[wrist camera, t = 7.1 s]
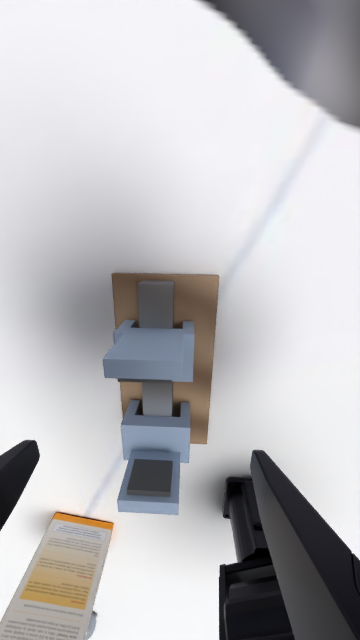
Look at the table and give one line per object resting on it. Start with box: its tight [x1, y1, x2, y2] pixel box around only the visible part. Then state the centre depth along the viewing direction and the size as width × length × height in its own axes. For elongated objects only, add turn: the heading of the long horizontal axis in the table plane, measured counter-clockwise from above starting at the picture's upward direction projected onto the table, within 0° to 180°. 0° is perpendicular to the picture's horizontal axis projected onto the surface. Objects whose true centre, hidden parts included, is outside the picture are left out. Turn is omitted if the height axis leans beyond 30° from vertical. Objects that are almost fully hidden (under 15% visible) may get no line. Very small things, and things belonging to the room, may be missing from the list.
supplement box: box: [0, 513, 113, 640], centre depth 23 cm, size 8×5×13 cm, turn 76°
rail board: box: [112, 273, 219, 444], centre depth 19 cm, size 18×9×3 cm, turn 179°
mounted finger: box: [117, 400, 190, 515], centre depth 18 cm, size 4×6×7 cm, turn 89°
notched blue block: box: [103, 320, 194, 383], centre depth 15 cm, size 4×6×7 cm, turn 89°
